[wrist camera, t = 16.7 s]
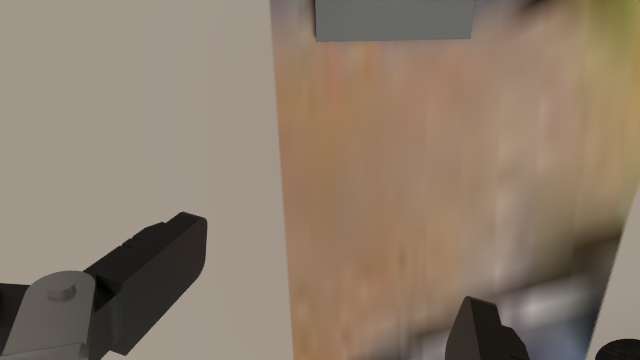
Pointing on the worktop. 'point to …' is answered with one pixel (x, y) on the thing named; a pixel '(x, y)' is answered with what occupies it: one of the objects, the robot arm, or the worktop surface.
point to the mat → (393, 20)
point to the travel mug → (620, 350)
